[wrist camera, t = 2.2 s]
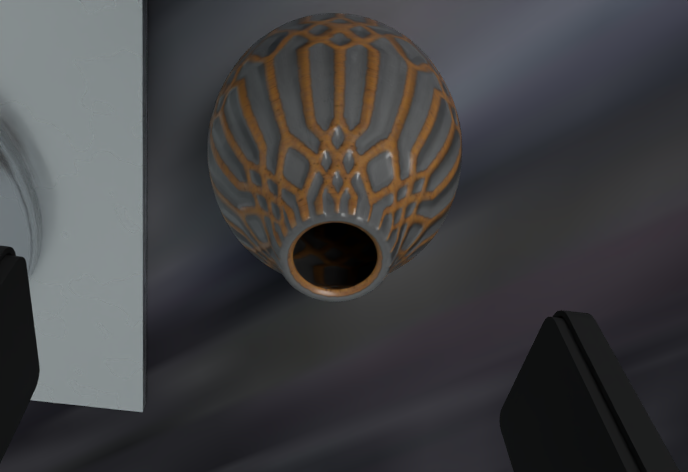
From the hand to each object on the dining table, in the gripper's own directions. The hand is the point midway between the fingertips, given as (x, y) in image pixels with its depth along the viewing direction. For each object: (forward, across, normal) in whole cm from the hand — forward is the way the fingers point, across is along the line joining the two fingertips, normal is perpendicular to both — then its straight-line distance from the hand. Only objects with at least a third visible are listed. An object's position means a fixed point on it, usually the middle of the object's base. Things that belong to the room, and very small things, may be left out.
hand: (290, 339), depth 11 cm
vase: (+11, -1, 0) cm, 11 cm away
